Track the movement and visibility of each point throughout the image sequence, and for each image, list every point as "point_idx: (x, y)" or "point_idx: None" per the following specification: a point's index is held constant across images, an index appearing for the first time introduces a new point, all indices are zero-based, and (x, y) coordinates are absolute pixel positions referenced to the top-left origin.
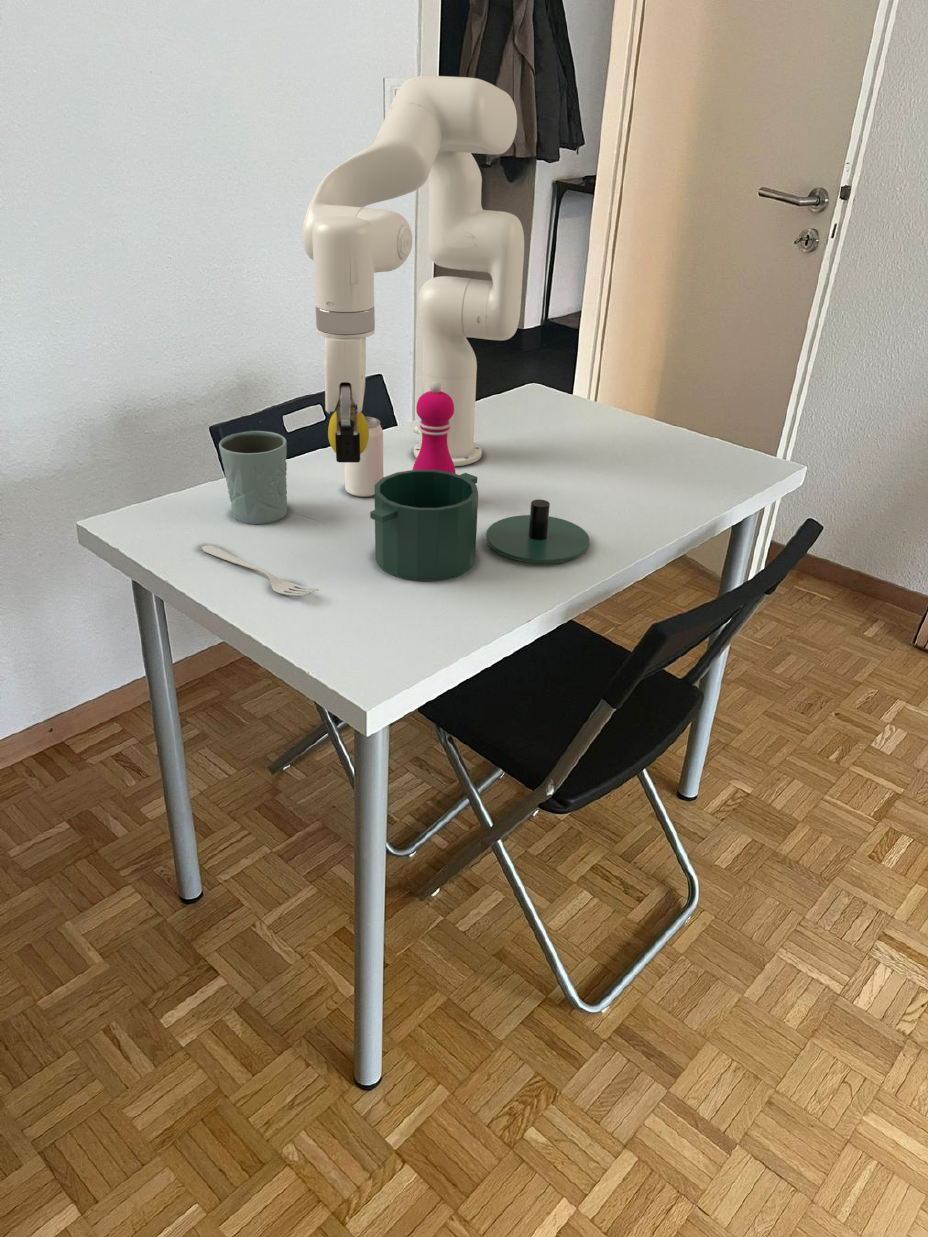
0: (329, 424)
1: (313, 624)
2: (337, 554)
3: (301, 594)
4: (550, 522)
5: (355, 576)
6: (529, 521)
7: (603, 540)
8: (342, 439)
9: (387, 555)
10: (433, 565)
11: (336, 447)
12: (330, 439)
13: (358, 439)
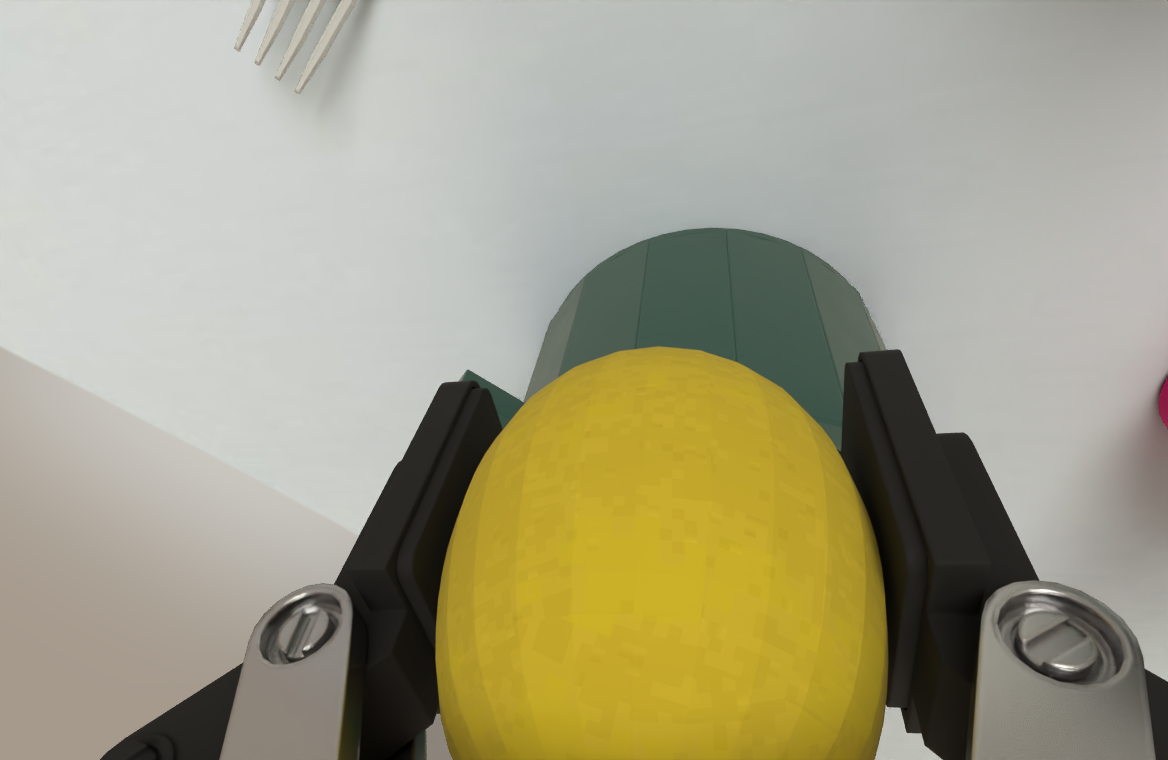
0: (561, 530)
1: (170, 98)
2: (710, 68)
3: (242, 27)
4: None
5: (532, 179)
6: None
7: None
8: (343, 585)
9: (567, 317)
10: None
11: (402, 465)
12: (528, 422)
13: None
